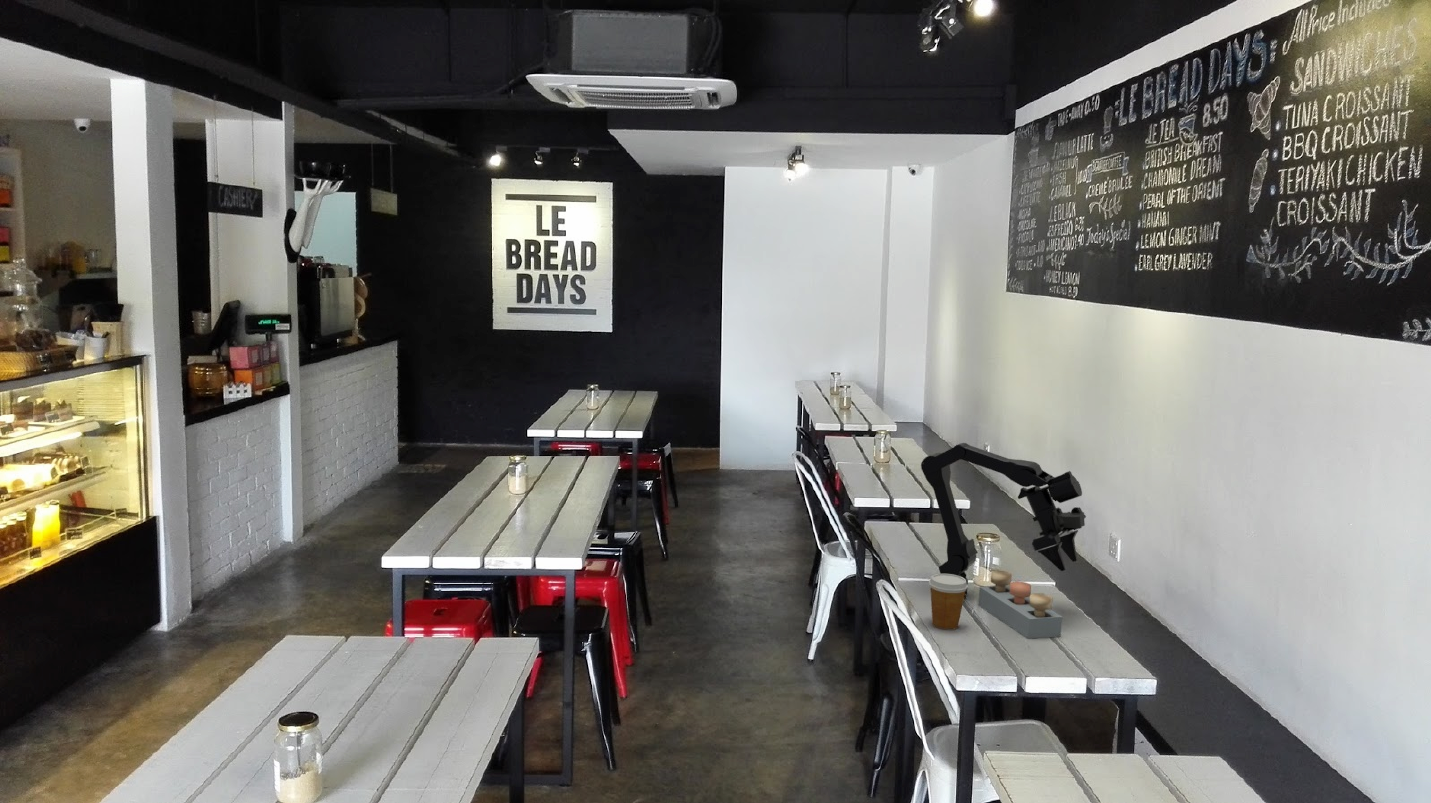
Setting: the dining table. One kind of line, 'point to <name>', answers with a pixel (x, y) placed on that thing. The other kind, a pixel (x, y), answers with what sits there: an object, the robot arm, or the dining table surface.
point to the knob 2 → (1040, 604)
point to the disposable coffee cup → (947, 599)
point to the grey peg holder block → (1019, 614)
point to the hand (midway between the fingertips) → (1069, 565)
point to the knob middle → (1020, 591)
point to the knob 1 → (1000, 580)
